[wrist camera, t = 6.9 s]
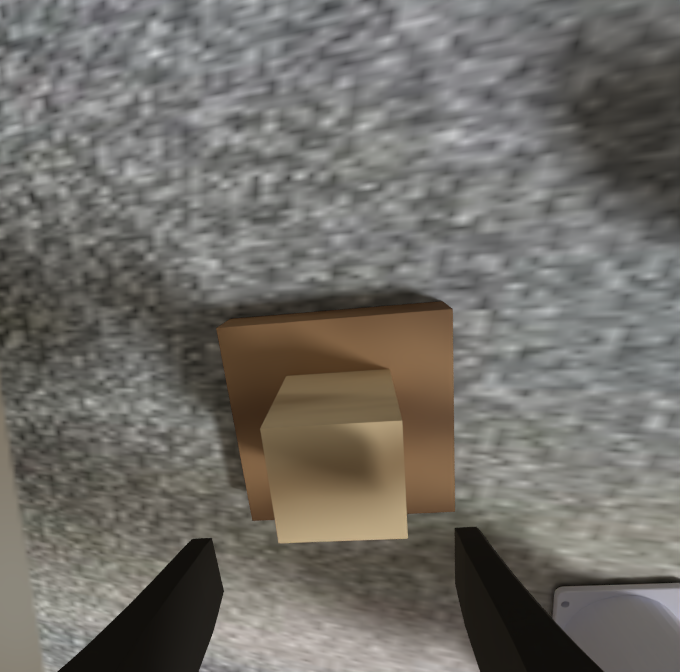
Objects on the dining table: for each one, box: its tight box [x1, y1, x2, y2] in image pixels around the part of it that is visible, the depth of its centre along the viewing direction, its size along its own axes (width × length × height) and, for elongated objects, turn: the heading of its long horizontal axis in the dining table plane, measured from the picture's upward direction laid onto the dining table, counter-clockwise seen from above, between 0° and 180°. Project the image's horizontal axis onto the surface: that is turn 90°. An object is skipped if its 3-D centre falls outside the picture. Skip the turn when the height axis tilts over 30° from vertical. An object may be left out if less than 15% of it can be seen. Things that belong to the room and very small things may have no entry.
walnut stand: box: [216, 301, 455, 521], centre depth 19 cm, size 11×11×2 cm
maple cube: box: [260, 369, 408, 543], centre depth 16 cm, size 5×5×5 cm
